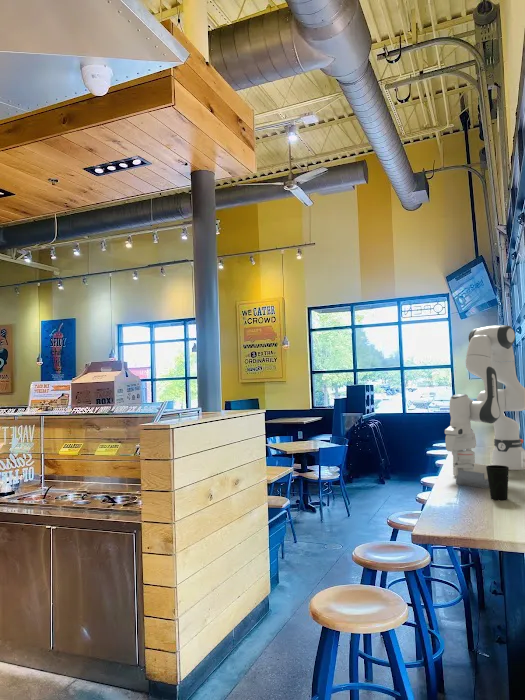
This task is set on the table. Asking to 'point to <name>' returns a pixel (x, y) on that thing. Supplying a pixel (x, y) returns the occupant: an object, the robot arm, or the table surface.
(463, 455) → the ink box
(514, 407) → the robot arm
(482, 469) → the pusher
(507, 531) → the table surface
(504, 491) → the cup
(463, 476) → the gray stepped block
